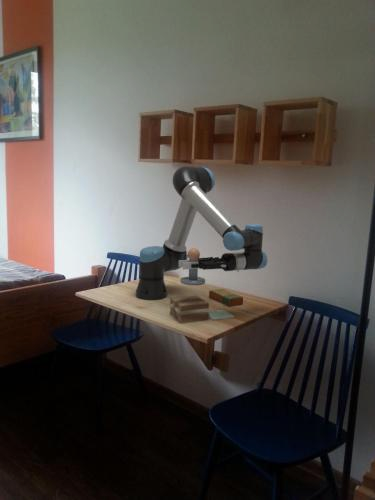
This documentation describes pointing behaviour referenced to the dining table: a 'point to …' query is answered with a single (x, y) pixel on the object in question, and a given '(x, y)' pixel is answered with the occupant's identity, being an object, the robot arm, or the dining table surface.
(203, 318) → the box
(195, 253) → the arcade joystick
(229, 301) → the carton
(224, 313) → the mat
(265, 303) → the dining table surface
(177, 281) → the dining table surface
